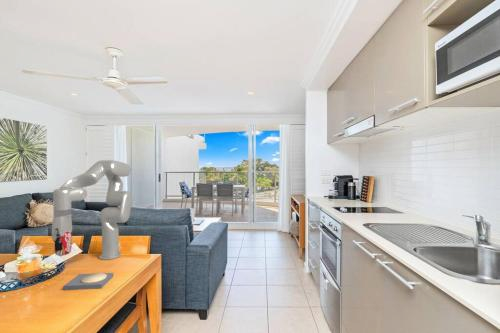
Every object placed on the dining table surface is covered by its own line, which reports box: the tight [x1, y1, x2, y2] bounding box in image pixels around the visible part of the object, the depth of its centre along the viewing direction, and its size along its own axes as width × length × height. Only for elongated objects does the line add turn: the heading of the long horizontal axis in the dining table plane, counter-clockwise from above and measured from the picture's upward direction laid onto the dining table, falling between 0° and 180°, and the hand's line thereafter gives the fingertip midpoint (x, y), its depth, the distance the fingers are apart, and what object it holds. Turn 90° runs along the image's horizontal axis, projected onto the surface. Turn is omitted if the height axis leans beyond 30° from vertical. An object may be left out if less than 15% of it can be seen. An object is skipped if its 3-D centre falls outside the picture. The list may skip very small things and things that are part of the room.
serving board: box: [63, 272, 114, 291], centre depth 134 cm, size 14×17×3 cm
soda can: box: [54, 230, 72, 257], centre depth 137 cm, size 7×7×12 cm
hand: (63, 247), depth 137 cm, fingers closed on soda can, 7 cm apart
